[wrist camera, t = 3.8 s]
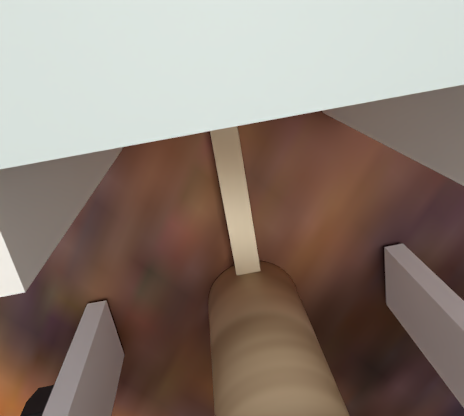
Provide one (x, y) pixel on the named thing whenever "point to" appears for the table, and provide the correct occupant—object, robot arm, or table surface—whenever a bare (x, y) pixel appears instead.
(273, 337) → the block
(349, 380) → the table surface
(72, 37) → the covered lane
